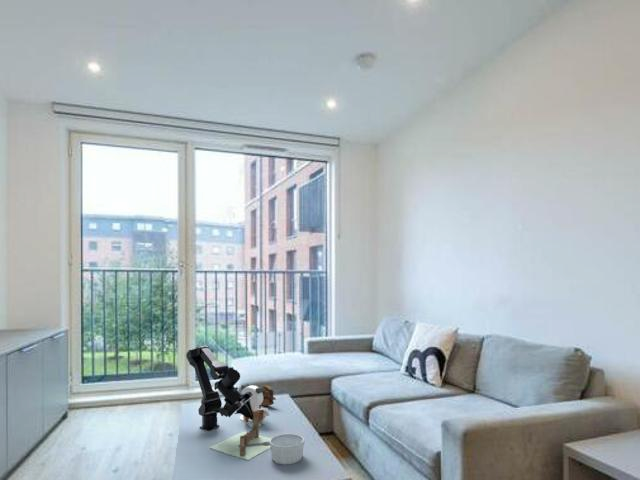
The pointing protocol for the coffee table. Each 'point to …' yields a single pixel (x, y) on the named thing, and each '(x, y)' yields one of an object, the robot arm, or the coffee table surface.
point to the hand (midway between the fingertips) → (253, 418)
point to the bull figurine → (262, 415)
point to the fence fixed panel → (242, 445)
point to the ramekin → (287, 448)
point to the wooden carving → (268, 396)
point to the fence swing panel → (255, 429)
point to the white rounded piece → (253, 397)
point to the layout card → (251, 448)
